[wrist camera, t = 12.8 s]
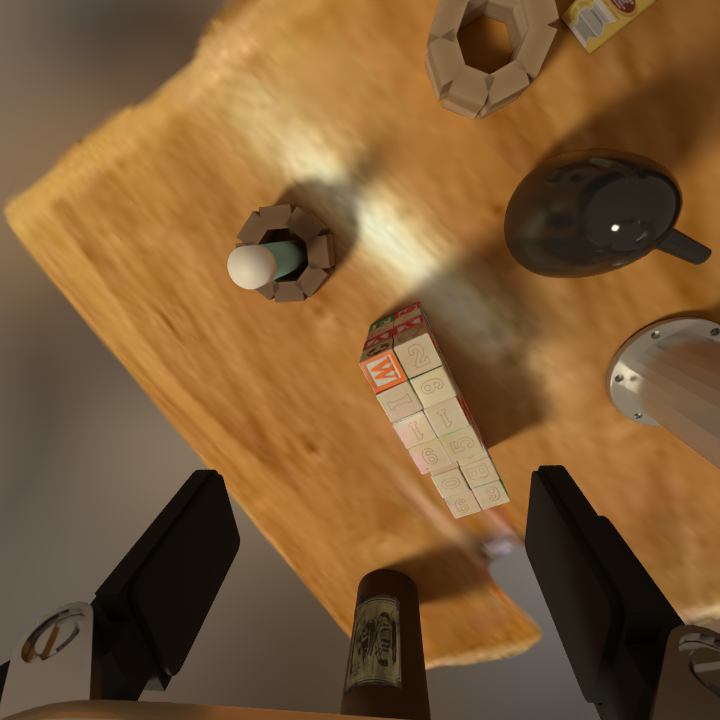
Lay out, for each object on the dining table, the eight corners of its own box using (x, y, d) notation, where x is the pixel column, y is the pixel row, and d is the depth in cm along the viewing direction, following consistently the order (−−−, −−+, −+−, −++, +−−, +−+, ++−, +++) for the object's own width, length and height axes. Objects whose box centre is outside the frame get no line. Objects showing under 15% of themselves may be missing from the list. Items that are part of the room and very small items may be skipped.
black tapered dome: (555, 290, 37) (655, 332, 23) (472, 239, 36) (523, 249, 21) (629, 197, 33) (804, 176, 19) (539, 136, 32) (653, 67, 18)
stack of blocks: (488, 448, 44) (521, 526, 33) (442, 465, 46) (458, 544, 35) (418, 299, 38) (428, 331, 27) (368, 324, 40) (357, 364, 29)
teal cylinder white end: (306, 238, 37) (264, 244, 25) (310, 268, 38) (271, 287, 26) (278, 240, 37) (223, 248, 25) (283, 270, 39) (232, 290, 26)
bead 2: (517, -41, 28) (536, -81, 24) (548, 82, 30) (569, 62, 27) (412, 27, 30) (414, -1, 26) (449, 136, 33) (456, 124, 29)
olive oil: (431, 606, 56) (456, 878, 32) (370, 618, 58) (353, 879, 35) (406, 559, 53) (415, 825, 29) (343, 574, 55) (305, 830, 32)
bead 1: (329, 203, 36) (321, 200, 32) (339, 291, 39) (333, 298, 35) (245, 212, 37) (228, 210, 33) (261, 297, 40) (247, 304, 36)
